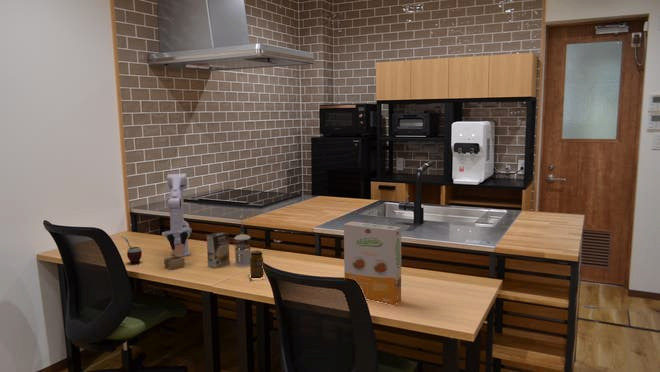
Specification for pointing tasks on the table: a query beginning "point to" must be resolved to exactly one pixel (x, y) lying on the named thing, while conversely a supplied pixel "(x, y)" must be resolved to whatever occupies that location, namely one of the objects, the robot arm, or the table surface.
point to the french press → (242, 251)
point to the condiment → (256, 265)
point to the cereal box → (374, 260)
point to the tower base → (174, 266)
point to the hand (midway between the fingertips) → (177, 248)
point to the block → (178, 249)
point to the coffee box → (218, 249)
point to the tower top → (174, 261)
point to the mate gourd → (133, 254)
